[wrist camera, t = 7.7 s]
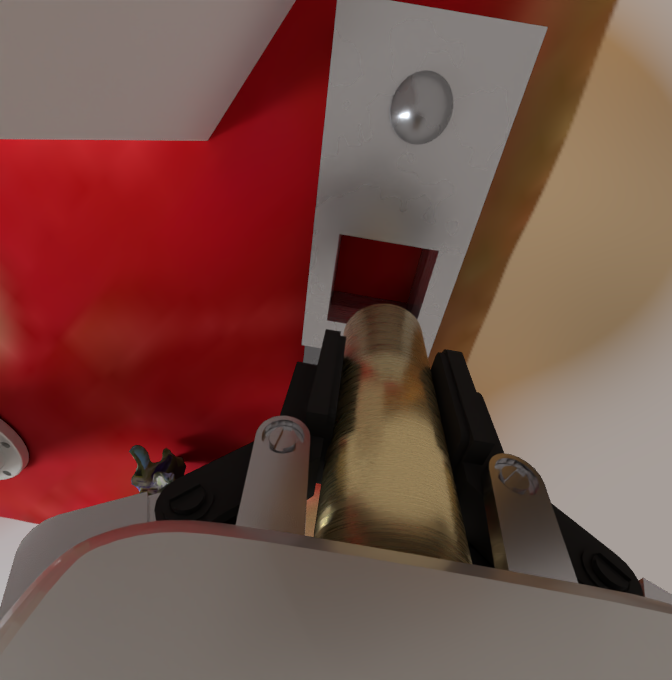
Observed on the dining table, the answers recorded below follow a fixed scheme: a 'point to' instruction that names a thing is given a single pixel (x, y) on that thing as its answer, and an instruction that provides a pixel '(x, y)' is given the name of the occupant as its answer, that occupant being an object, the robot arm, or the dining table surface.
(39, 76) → the milk
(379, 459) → the brass pin
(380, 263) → the dining table surface
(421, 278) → the grey long rectangular block
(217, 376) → the dining table surface
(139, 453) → the passion flower
